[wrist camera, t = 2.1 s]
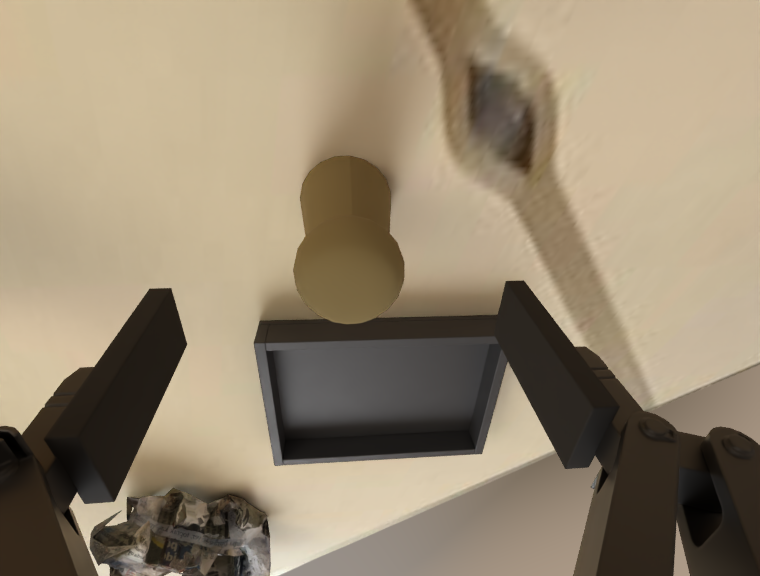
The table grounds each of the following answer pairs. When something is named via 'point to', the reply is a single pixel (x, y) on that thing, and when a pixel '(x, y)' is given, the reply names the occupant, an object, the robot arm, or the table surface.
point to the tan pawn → (347, 242)
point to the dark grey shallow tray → (378, 387)
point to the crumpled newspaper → (185, 538)
